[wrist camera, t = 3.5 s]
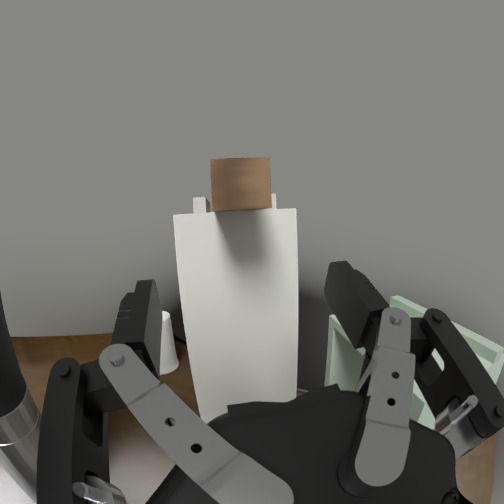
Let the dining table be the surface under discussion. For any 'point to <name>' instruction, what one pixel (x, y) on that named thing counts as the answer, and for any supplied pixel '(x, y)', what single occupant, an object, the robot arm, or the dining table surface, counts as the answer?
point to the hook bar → (240, 184)
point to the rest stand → (349, 363)
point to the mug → (167, 347)
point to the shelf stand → (239, 304)
